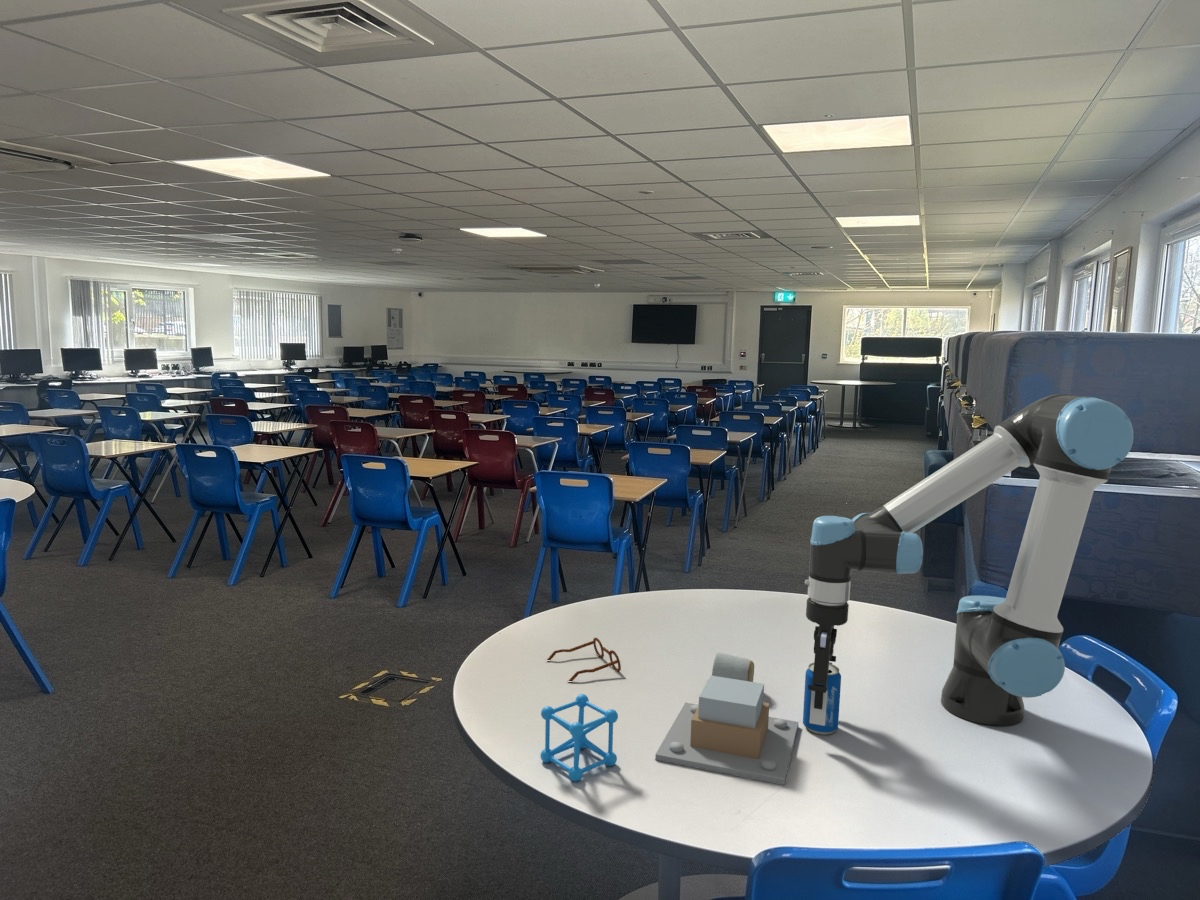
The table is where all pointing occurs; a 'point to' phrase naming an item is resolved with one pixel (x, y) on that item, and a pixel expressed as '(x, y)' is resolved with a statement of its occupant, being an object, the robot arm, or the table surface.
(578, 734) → the molecular structure
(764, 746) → the tower base
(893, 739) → the table surface
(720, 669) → the ceramic mug
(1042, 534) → the robot arm
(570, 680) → the glasses
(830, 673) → the beverage can
